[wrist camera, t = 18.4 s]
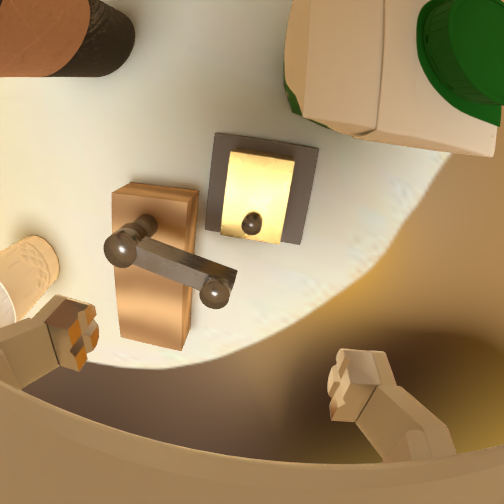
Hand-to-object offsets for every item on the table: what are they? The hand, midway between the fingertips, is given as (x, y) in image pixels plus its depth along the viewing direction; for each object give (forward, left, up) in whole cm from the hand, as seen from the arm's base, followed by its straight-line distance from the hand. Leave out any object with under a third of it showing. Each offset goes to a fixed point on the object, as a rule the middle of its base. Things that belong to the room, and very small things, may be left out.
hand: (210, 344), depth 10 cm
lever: (+4, -5, -14) cm, 16 cm away
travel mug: (-13, -17, -21) cm, 30 cm away
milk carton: (-11, +5, -21) cm, 25 cm away
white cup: (+12, -26, -21) cm, 35 cm away
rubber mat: (0, 0, -21) cm, 21 cm away
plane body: (+9, -9, -21) cm, 24 cm away
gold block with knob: (0, 0, -20) cm, 20 cm away
